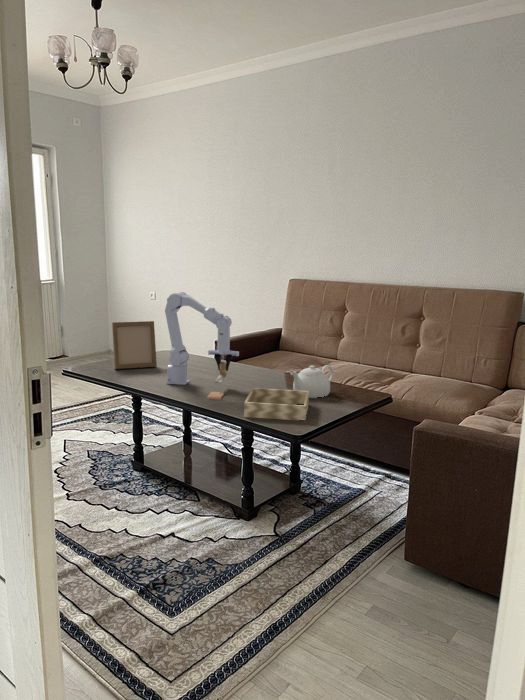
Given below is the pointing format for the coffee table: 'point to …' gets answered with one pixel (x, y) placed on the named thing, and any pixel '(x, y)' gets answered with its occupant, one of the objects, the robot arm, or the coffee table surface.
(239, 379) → the coffee table surface
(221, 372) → the turner
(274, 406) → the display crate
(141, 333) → the photo frame
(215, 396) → the tile
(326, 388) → the teapot
